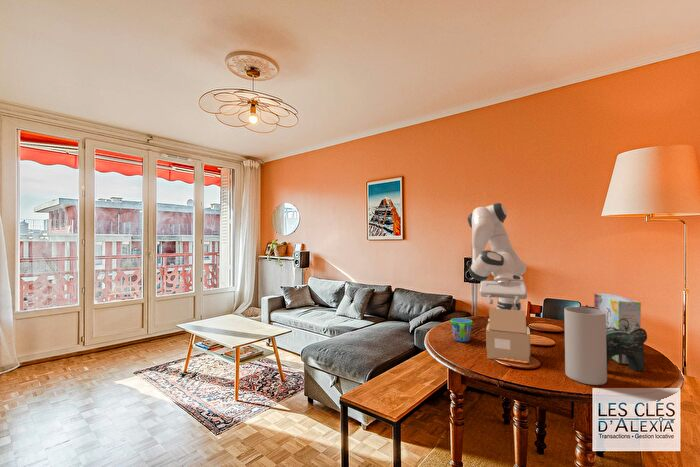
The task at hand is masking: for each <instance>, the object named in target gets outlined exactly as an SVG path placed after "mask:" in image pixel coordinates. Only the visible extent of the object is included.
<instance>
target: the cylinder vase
mask: <svg viewBox="0 0 700 467" xmlns="http://www.w3.org/2000/svg"><path fill="white" fill-rule="evenodd" d="M563 314H564V315H563V316H564V321H563V322H564V370H565V372H564V373H565V375H566V377H567V378H569V379H570V380H572V381H574V382H577V383H580V384H583V385H591V386H601V385H605V384H606V383H607V382H608V366H607V352H606V312H604V311H602V310H598V309H592V308H584V307H579V306H567V307H564V312H563Z"/></svg>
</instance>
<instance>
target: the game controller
mask: <svg viewBox="0 0 700 467" xmlns="http://www.w3.org/2000/svg"><path fill="white" fill-rule="evenodd" d="M621 320H626V319H619V321H618V322H620V321H621ZM626 321H627V320H626ZM627 323H628V326H627V325H623V326H624V327H625V328H624V329H623V330H618V329H615V328H611V327H609V328H611V329H614V330H609V331H606V352H607V367H608V365H609V361H610V360H612V357H613V356H615V355H625V356H626V357H627V359H628V362H629V364H628V365H629V366H628V367H629V369H631V370H632V371H635V372H645V351H644V344H645V342H646V341H647V339H648V334H647V333H648V332H647V331H646V329H644V328H642V327H641V328H640V326H639V325H638V323H636V325H635V326H629V322H628V321H627ZM609 328H606V329H609Z"/></svg>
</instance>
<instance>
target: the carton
mask: <svg viewBox="0 0 700 467" xmlns="http://www.w3.org/2000/svg"><path fill="white" fill-rule="evenodd" d="M485 337H486V338H485V345H486V347H485V349H486V350H485V351H486V354H487V355H486V358H487V359H490V360H495V359H494V358H507V359H514V360H521V361H527V362H529V363H530V357H531V331H530V326H528V325H526V333H519V332H510V331H500V330H491V329H489V322H488V323H487V325H486V329H485Z"/></svg>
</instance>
